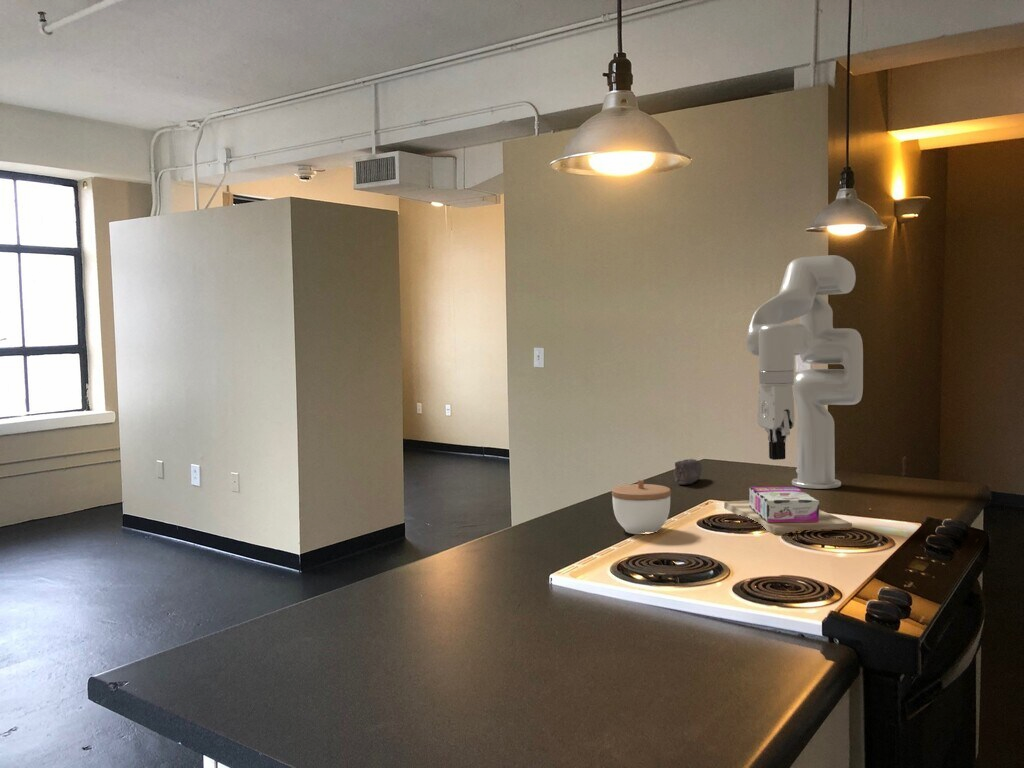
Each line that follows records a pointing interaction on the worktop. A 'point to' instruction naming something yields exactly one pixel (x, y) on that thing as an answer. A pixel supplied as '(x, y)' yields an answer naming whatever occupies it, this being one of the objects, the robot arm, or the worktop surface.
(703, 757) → the worktop surface
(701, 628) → the worktop surface
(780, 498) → the candy bar box
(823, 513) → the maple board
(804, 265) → the robot arm
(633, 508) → the lidded bowl
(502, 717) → the worktop surface
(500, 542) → the worktop surface
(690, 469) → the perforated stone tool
